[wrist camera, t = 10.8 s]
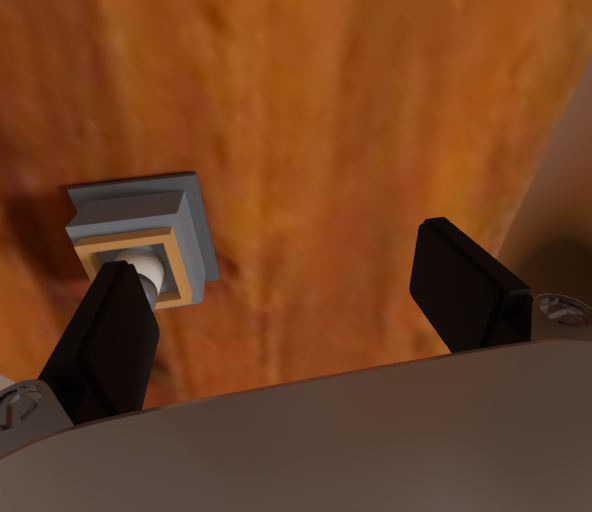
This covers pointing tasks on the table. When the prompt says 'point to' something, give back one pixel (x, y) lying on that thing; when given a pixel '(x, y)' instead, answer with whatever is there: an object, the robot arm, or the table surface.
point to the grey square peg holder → (148, 231)
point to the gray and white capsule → (146, 270)
